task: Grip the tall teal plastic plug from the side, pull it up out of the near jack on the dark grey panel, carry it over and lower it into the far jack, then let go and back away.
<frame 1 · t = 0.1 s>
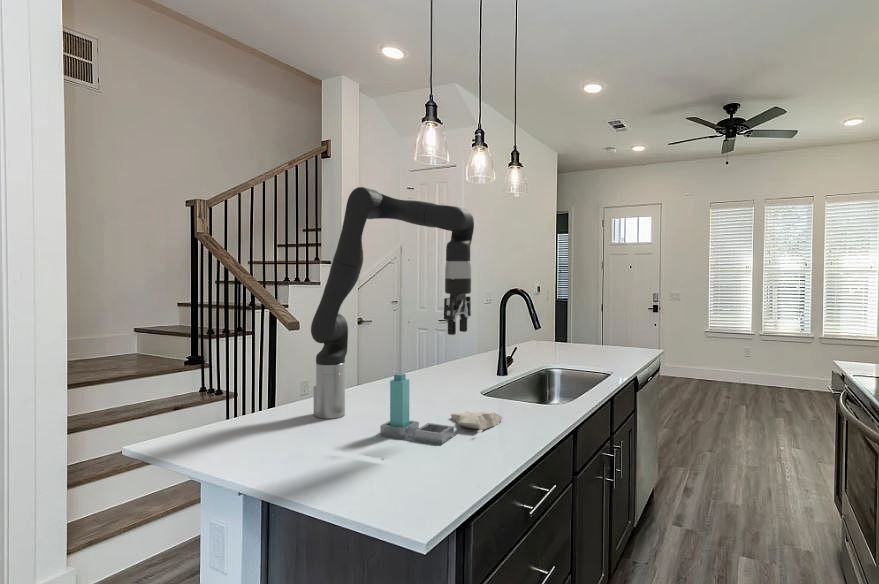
hand: (457, 333, 151), 29 cm above the counter, tool pointing down, fingers open, 8 cm apart
plug: (399, 432, 149), point 1 cm above the counter, touching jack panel
rock: (471, 427, 160), on the counter
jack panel: (416, 439, 146), on the counter
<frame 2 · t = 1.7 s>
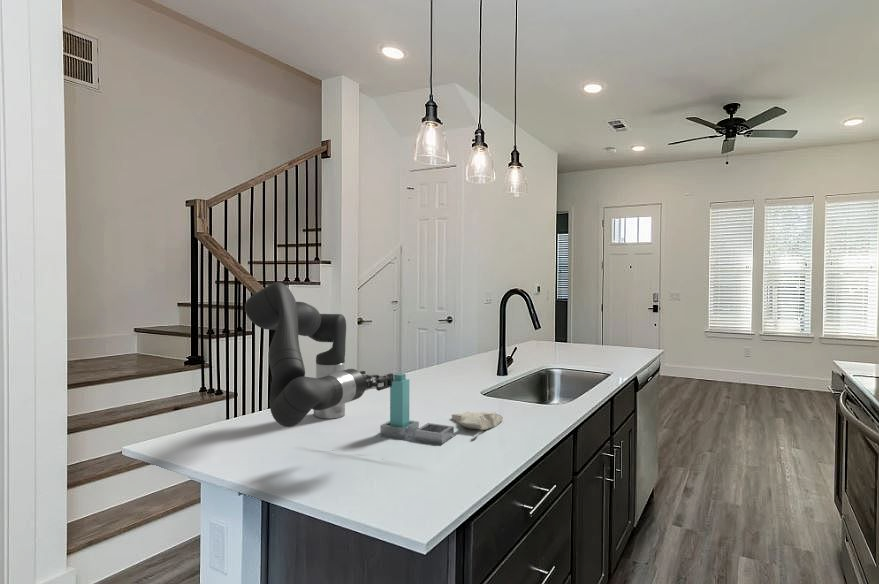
hand: (377, 376, 137), 19 cm above the counter, tool horizontal, fingers open, 8 cm apart
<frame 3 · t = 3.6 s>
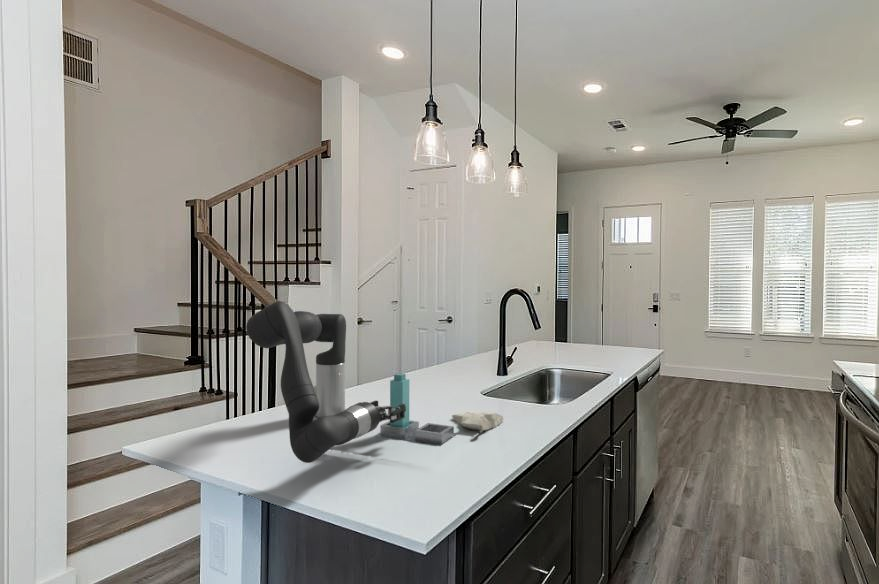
hand: (390, 405, 144), 10 cm above the counter, tool horizontal, fingers open, 8 cm apart
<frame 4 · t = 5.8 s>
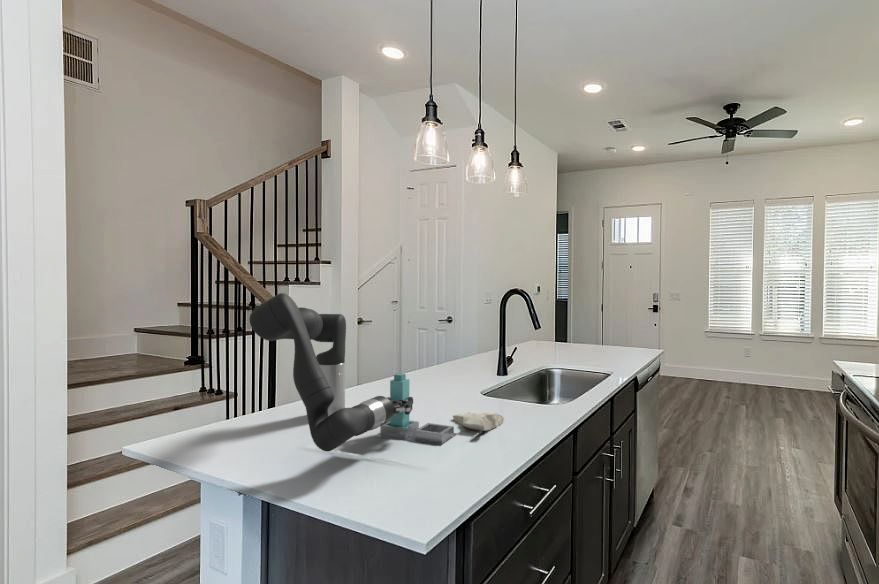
hand: (404, 399, 151), 10 cm above the counter, tool horizontal, fingers closed on plug, 4 cm apart
plug: (399, 432, 149), point 1 cm above the counter, touching gripper, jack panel
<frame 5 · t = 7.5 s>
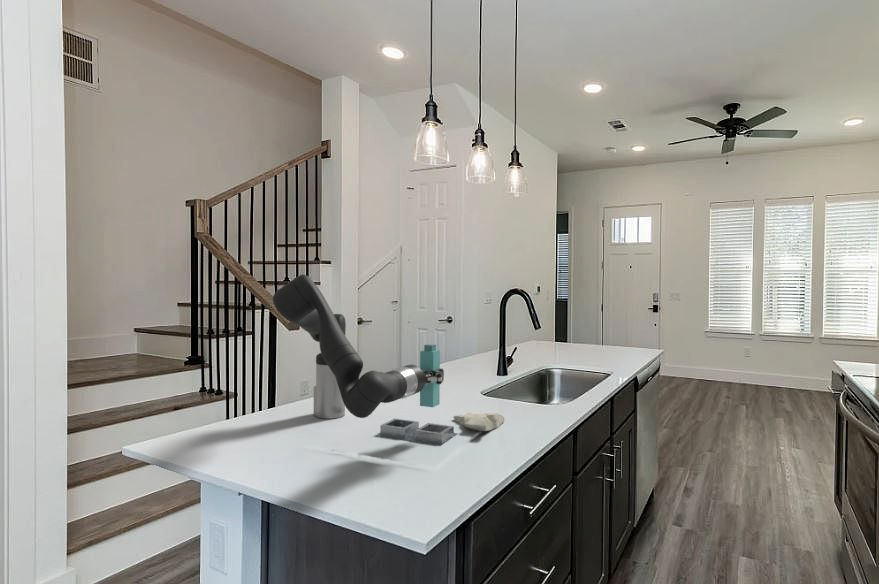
hand: (434, 371, 146), 19 cm above the counter, tool horizontal, fingers closed on plug, 4 cm apart
plug: (429, 405, 143), point 10 cm above the counter, touching gripper
when the fingers open (11 cm above the counter, at t = 9.4 s): plug drops 1 cm, resting on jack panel.
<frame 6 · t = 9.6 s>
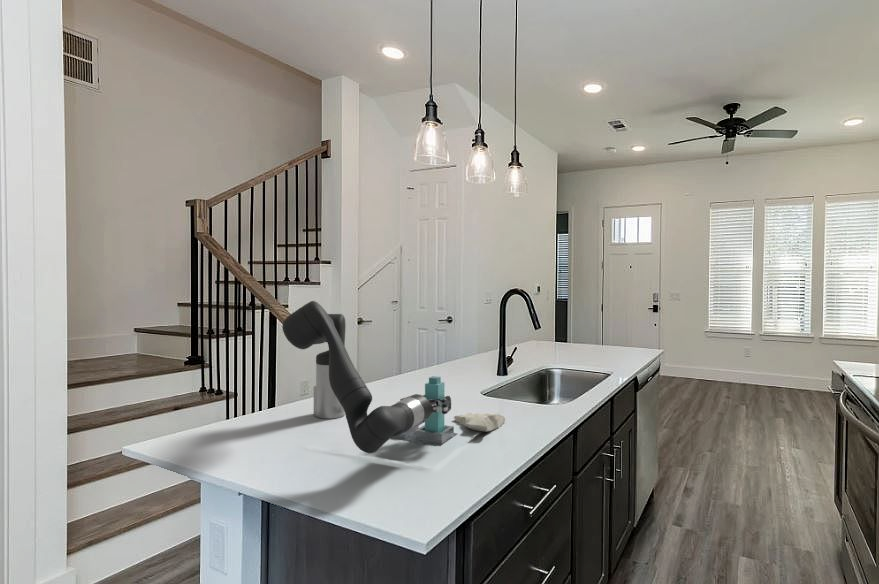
hand: (438, 398, 146), 11 cm above the counter, tool horizontal, fingers open, 5 cm apart
plug: (434, 437, 144), point 1 cm above the counter, touching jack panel
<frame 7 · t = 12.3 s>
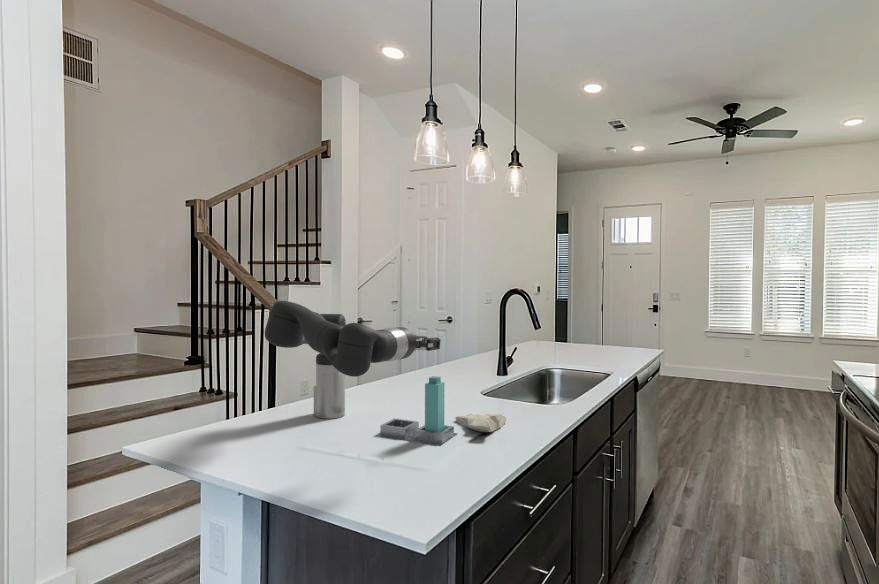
hand: (422, 340, 135), 29 cm above the counter, tool horizontal, fingers open, 8 cm apart
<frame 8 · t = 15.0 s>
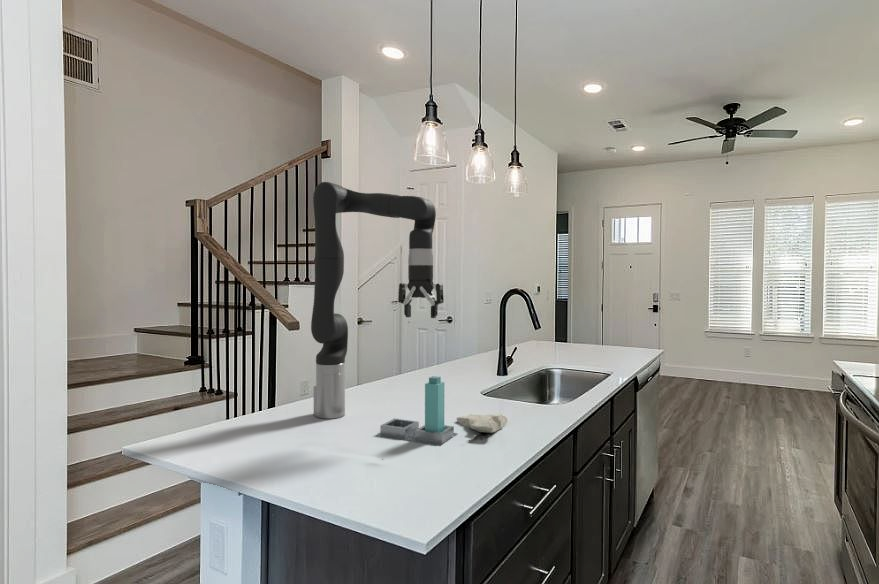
hand: (420, 317, 158), 33 cm above the counter, tool pointing down, fingers open, 8 cm apart
at the end: plug 0.1 cm from the target spot on the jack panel, point 1.3 cm above the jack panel's base; plug tilted 0°; the gripper is holding nothing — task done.
